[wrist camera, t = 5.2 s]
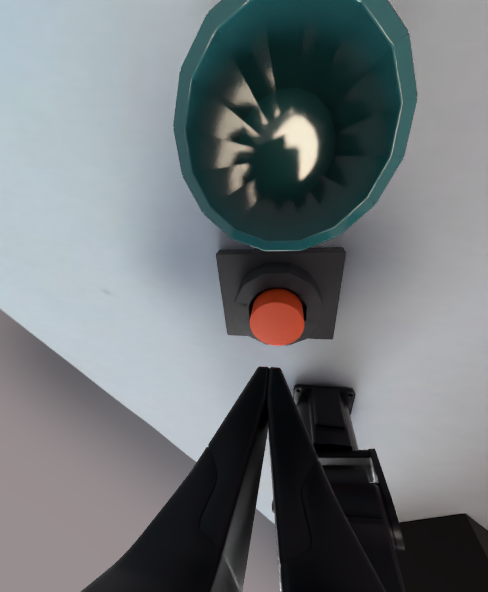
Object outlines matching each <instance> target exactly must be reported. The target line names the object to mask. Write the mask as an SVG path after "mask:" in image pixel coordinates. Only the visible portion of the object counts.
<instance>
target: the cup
mask: <svg viewBox="0 0 488 592" xmlns="http://www.w3.org/2000/svg"><path fill="white" fill-rule="evenodd" d="M416 97H417V89H416V81H415V74H414V66H413V58H412V51H411V43H410V36H409V33H408V30H407V28H406V27H405V25H404V24H403V22H402V21H401V19H400V18H399V16H398V15H397V13H396V12H395V10H394V9H393V7H392V5H391V4H390V2H389V1H388V0H221V1H220V2H219V3H218V4H217V5H216V6H214V7H213V8H212V9H211V10H210V11H209V14H207V15H206V17H205V19H204V21H203V23H202V25H201V28H200V30H199V32H198V34H197V36H196V38H195V40H194V42H193V44H192V46H191V48H190V50H189V53H188V55H187V57H186V59H185V61H184V63H183V65H182V67H181V71H180V76H179V84H178V92H177V100H176V108H175V116H174V125H173V126H174V134H175V139H176V145H177V150H178V155H179V161H180V166H181V171H182V175H183V178H184V180H185V182H186V183H187V185H188V187H189V189H190V191H191V193H192V194H193V196H194V198H195V200H196V202H197V203H198V205H199V207H200V209H201V211H202V212H203V213H204V215H205V216H206V217H208V218H209V219H210V220H211V221H212V222H213V223H214V224H215V225H217V226H218V227H219V228H220V229H221V230H222V231H223V232H224V233H226V234H227V235H228V236H229V237H230V238H232V239H234V240H236V241H239V242H242V243H244V244H247V245H250V246H252V247H255V248H258V249H261V250H263V251H301V250H305V249H307V248H310V247H312V246H315V245H317V244H320V243H322V242H325V241H327V240H330V239H332V238H335V237H337V236H339V235H341V234H342V233H343V232H344V231H345V230H347V229H348V228H349V227H350V226H351V225H352V224H354V223H355V222H356V221H357V220H358V219H359V218H361V217H362V216H363V215H364V214H365V213H366V212H367V211H369V210H370V209H371V208H372V207H373V206H374V205H375V204H376V203H377V201H378V199H379V198H380V196H381V194H382V193H383V191H384V190H385V188H386V186H387V185H388V183H389V181H390V180H391V178H392V176H393V175H394V173H395V171H396V170H397V168H398V166H399V165H400V163H401V161H402V160H403V157H404V154H405V150H406V146H407V141H408V137H409V133H410V128H411V124H412V120H413V115H414V111H415V107H416V102H417V98H416Z"/></svg>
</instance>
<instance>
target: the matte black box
mask: <svg viewBox="0 0 488 592" xmlns="http://www.w3.org/2000/svg"><path fill="white" fill-rule="evenodd" d="M399 526H400V529H401V533H402V537H403V542H404V547H405V551H404V550H396V549H395V553H396V557H397V560H398V564H399V568H400V572H401V576H402V580H403V584H404V588H405V592H488V531H487V530H486V529H484V528H483V527H482V526H480V525H479V524H478V523H477V522H475V521H474V520H473V519H471V518H470V517H469V516H467V515H466V514H463V515H456V516H448V517H441V518H434V519H426V520H419V521H412V522H404V523H399Z"/></svg>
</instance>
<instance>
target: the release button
mask: <svg viewBox="0 0 488 592" xmlns="http://www.w3.org/2000/svg"><path fill="white" fill-rule="evenodd" d="M250 328H251V331H252V333H253V334H254V335H255V336H256V337H257V338H258V339H259V340H260V341H262V342H264V343H266V344H270V345H275V346H281V345H287V344H290V343H292V342H294V341H296V340H297V339H298V338H299V337H300V336H301V334H302V333H303V330H304V315H303V307H302V303H301V301H300V299H299V298H298V297H297V296H296V295H295V294H294V293H292V292H290V291H288V290H285V289H278V288H276V289H269V290H266V291H264V292H262V293H261V294H260V295H259V296H258V297H257V298H256V299H255V301H254V304H253V308H252V312H251V317H250Z"/></svg>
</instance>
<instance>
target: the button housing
mask: <svg viewBox="0 0 488 592" xmlns="http://www.w3.org/2000/svg"><path fill="white" fill-rule="evenodd" d="M345 254H346V251H345V250H344V248H307V249H305V250H301V251H263V250H261V249H255V250H219V251H218V252H217V254H216V258H217V265H218V272H219V279H220V286H221V292H222V299H223V306H224V313H225V320H226V327H227V334H228V335H238V336H250V337H252V338H254V339H256V340H258V341H260V340H259V339H258V338H257V337H256V336H255V335H254V334H253V333H252V331H251V328H250V317H251V312H252V308H253V304H254V301H255V299H256V298H257V297H258V296H259V295H260V294H261V293H262V292H264V291H266V290H269V289H276V288H278V289H285V290H288V291H290V292H292V293H294V294H295V295H296V296H297V297H298V298H299V299H300V301H301V303H302V307H303V315H304V330H303V333H302V334H301V336H300V337H299V338H298V339H297V340H296V341H294V342H292V343H290V344H287V345H285V346H288V345H291V344H294V343H297V342H299V341H302V340H305V339H307V338H310V339H333V334H334V328H335V321H336V314H337V308H338V301H339V294H340V288H341V281H342V274H343V267H344V261H345ZM260 342H262V341H260ZM262 343H264V342H262ZM264 344H266V343H264ZM267 345H270V344H267Z"/></svg>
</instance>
